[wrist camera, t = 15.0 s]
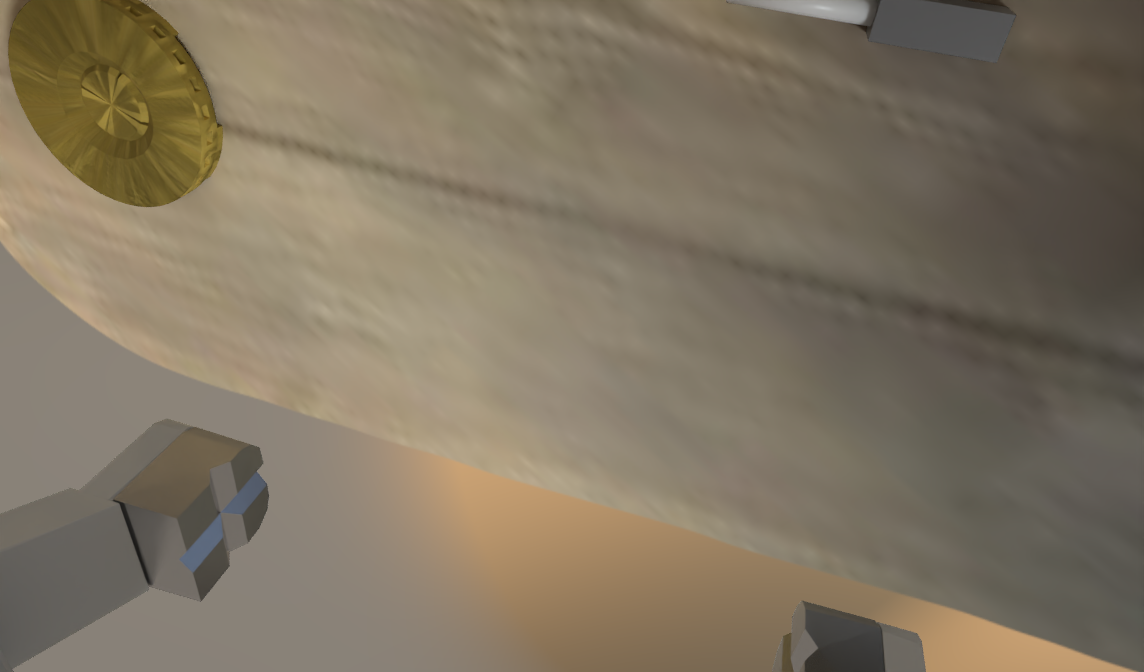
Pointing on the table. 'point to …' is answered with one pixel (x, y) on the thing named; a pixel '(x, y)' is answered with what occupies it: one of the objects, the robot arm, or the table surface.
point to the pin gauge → (914, 22)
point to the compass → (115, 97)
